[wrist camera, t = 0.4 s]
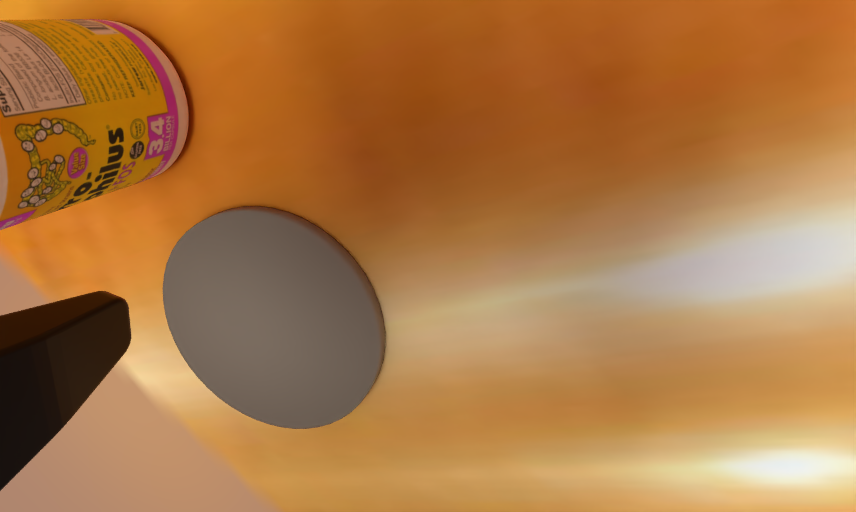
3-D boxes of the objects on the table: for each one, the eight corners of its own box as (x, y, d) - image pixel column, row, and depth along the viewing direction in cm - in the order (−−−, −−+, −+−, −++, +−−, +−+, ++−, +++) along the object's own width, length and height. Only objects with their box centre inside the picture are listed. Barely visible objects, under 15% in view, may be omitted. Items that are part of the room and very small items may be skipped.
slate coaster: (346, 454, 30) (339, 465, 29) (160, 355, 31) (149, 363, 30) (419, 274, 25) (412, 282, 24) (193, 165, 26) (181, 169, 25)
